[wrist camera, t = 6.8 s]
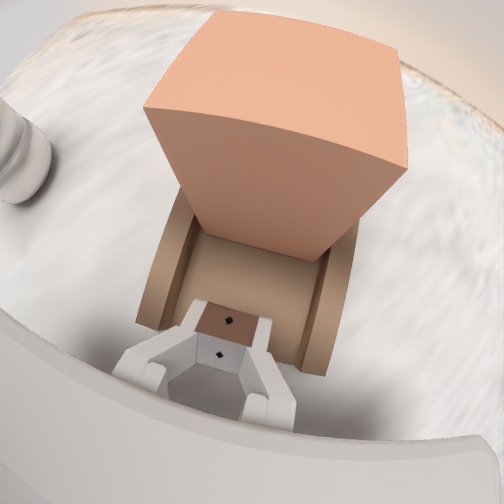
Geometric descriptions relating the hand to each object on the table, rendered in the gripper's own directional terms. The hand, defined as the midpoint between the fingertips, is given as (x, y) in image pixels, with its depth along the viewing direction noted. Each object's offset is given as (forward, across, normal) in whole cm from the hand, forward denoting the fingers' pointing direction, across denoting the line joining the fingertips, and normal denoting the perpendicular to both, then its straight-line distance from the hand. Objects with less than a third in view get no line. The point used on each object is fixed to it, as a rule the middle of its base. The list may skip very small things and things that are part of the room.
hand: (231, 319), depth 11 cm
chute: (+11, 0, -4) cm, 11 cm away
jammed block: (+7, 0, -2) cm, 7 cm away
